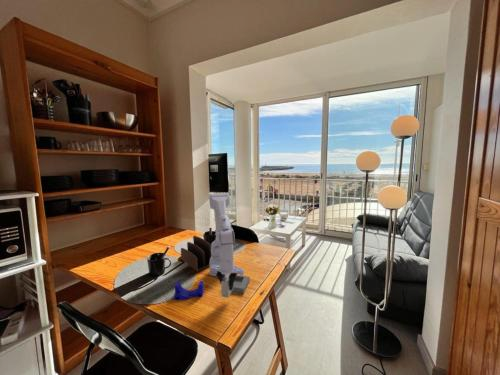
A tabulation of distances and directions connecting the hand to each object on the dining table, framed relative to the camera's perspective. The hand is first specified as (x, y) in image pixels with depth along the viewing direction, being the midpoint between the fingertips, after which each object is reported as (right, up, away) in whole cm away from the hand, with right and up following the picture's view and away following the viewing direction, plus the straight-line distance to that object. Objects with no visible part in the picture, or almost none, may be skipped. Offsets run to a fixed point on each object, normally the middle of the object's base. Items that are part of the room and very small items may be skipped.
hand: (227, 287), depth 88 cm
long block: (0, -2, 0) cm, 2 cm away
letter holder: (-23, -2, +36) cm, 43 cm away
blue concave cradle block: (-18, -7, +5) cm, 20 cm away
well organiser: (+3, -5, +12) cm, 14 cm away
